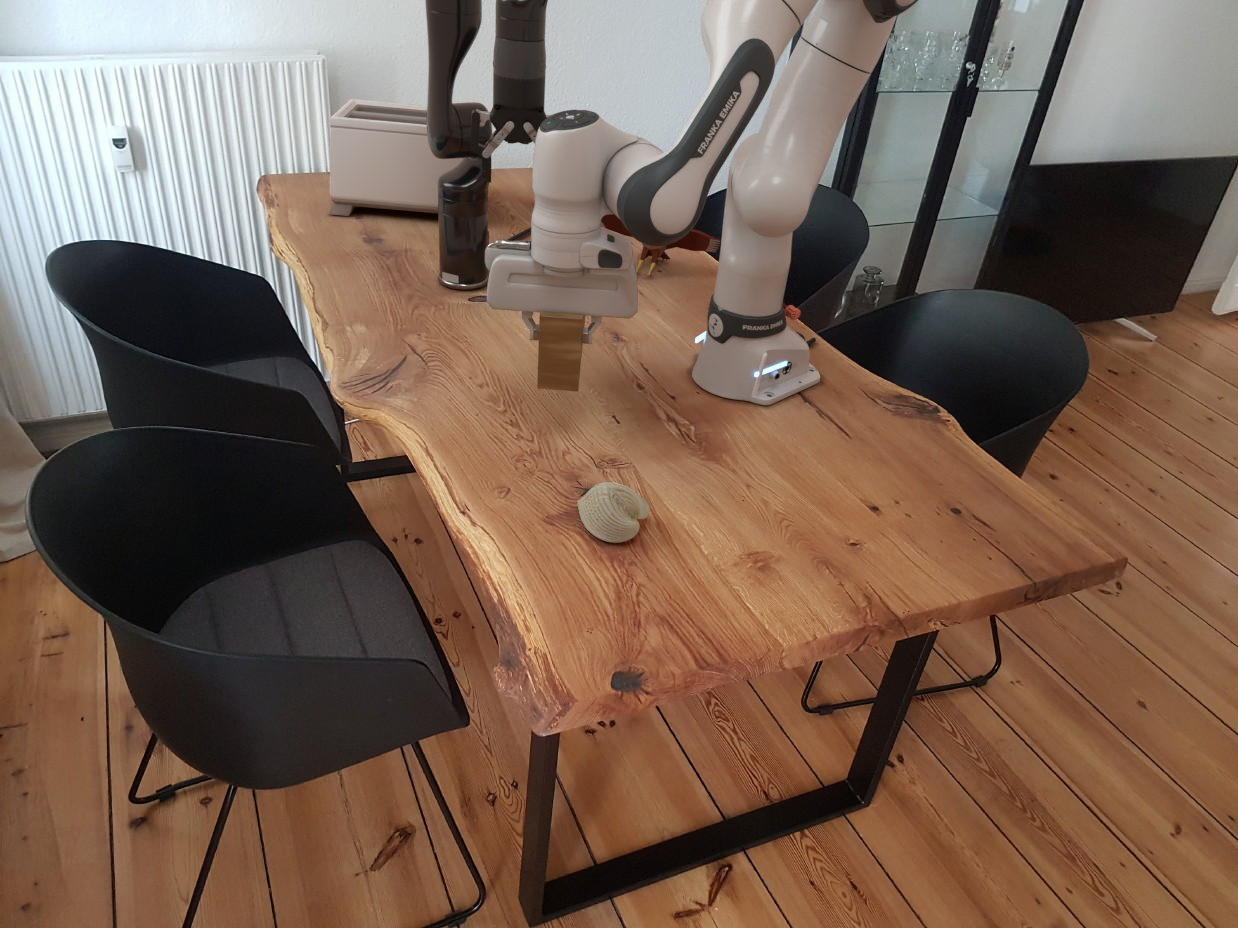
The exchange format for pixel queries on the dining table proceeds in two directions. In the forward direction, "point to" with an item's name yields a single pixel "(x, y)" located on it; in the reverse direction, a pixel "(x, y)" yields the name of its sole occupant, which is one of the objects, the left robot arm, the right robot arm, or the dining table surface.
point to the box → (559, 351)
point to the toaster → (383, 158)
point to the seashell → (612, 511)
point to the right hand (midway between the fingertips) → (561, 340)
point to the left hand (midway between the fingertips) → (516, 182)
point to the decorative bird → (689, 242)
